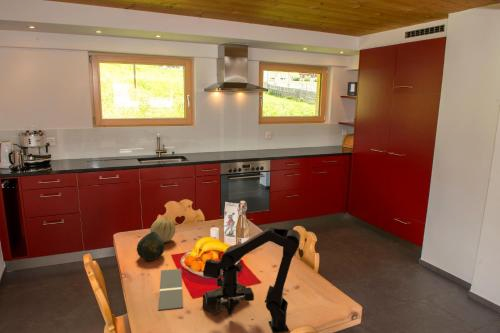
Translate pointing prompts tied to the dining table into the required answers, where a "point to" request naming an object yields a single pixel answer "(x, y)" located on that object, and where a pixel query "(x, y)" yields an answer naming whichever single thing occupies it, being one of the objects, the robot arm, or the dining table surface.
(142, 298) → the dining table surface
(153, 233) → the squash
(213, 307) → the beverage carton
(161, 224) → the cantaloupe
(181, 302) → the strip
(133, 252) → the dining table surface
